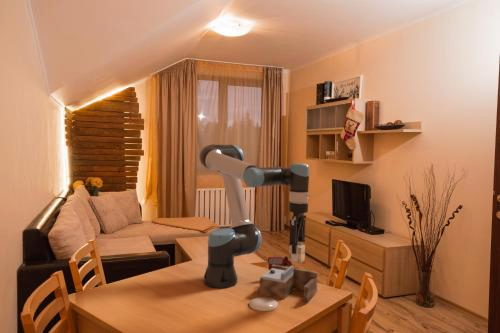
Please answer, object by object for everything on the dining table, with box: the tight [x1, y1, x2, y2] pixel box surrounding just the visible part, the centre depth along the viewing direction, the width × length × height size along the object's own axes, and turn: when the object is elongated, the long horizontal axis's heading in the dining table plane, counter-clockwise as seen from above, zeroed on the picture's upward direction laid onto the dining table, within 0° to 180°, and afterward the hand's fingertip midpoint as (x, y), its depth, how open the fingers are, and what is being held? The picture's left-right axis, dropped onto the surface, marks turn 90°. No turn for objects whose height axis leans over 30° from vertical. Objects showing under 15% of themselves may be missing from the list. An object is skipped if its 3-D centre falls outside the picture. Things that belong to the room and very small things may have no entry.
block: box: [288, 244, 306, 264], centre depth 148 cm, size 5×5×6 cm
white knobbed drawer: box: [260, 264, 295, 283], centre depth 155 cm, size 10×12×4 cm
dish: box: [249, 297, 279, 312], centre depth 142 cm, size 11×11×1 cm
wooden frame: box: [259, 265, 319, 304], centre depth 154 cm, size 20×14×8 cm
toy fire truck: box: [267, 255, 294, 271], centre depth 171 cm, size 7×12×10 cm, turn 98°
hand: (296, 259), depth 148 cm, fingers closed on block, 5 cm apart
